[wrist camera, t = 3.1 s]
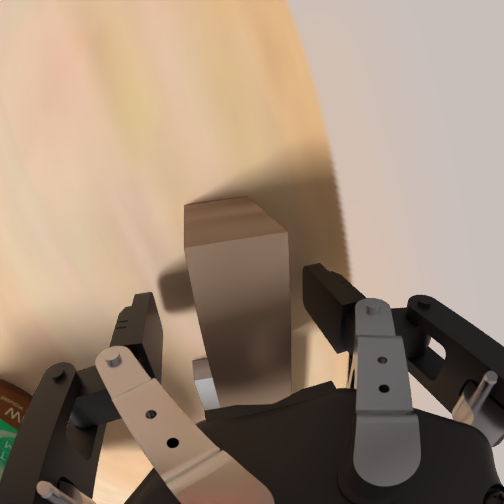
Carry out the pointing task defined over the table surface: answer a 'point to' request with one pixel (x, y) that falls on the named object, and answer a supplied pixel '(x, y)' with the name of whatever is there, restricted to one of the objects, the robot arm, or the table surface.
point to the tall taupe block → (239, 302)
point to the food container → (10, 417)
